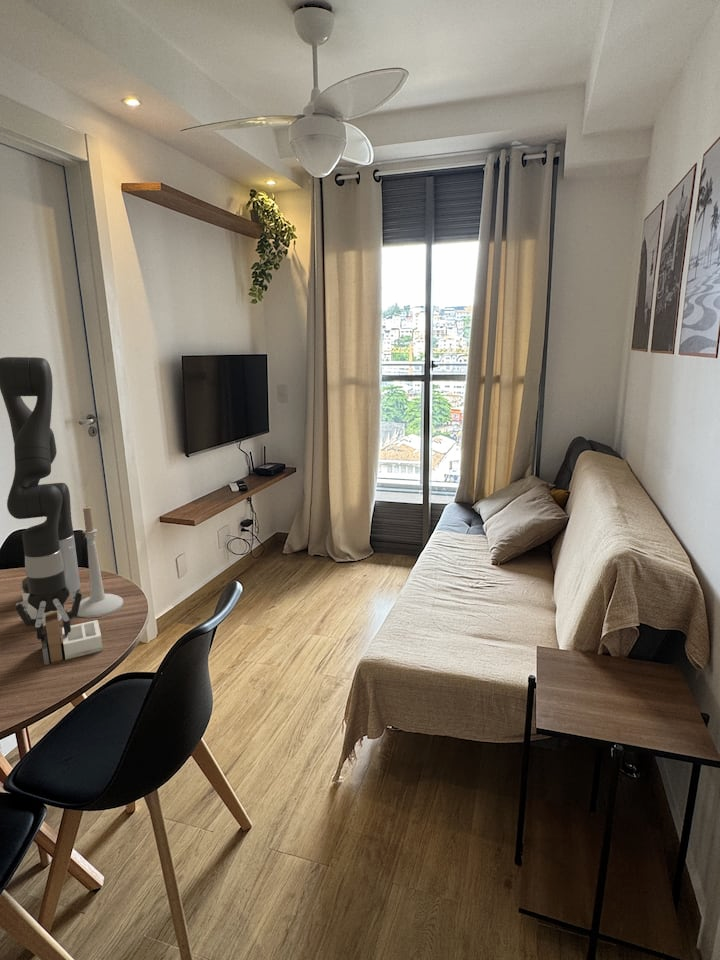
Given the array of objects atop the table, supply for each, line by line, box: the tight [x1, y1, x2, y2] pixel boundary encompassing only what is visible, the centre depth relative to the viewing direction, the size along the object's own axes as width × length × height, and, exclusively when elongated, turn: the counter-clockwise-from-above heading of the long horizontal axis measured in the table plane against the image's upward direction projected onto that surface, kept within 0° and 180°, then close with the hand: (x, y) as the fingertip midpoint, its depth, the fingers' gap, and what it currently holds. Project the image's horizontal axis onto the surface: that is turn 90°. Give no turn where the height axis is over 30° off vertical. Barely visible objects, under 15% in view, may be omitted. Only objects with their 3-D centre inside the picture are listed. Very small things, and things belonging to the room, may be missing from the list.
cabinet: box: [41, 619, 104, 666], centre depth 129 cm, size 9×12×5 cm
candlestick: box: [76, 506, 124, 619], centre depth 147 cm, size 13×13×30 cm
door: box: [42, 611, 64, 663], centre depth 127 cm, size 8×3×10 cm, turn 31°
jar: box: [21, 577, 62, 628], centre depth 142 cm, size 9×8×12 cm
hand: (54, 636), depth 127 cm, fingers open, 4 cm apart
